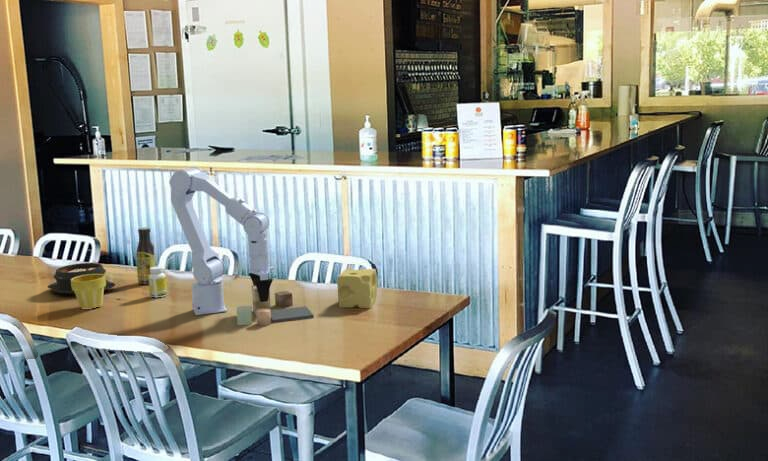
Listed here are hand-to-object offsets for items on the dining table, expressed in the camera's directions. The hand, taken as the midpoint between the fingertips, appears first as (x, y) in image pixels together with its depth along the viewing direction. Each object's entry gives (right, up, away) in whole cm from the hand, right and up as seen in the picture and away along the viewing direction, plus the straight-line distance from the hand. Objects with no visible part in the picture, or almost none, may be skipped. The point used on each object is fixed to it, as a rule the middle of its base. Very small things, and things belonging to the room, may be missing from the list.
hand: (261, 298), depth 237 cm
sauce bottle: (-47, +2, +43) cm, 64 cm away
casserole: (-68, -1, +36) cm, 77 cm away
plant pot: (-57, -4, +14) cm, 59 cm away
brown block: (+2, -6, -11) cm, 13 cm away
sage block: (-3, -6, -9) cm, 12 cm away
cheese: (+29, -2, +7) cm, 29 cm away
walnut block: (+6, -3, +8) cm, 10 cm away
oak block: (0, -4, +1) cm, 4 cm away
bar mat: (+9, -5, -4) cm, 11 cm away
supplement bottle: (-38, -2, +24) cm, 45 cm away
